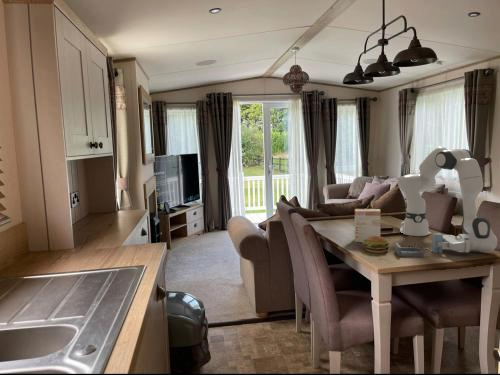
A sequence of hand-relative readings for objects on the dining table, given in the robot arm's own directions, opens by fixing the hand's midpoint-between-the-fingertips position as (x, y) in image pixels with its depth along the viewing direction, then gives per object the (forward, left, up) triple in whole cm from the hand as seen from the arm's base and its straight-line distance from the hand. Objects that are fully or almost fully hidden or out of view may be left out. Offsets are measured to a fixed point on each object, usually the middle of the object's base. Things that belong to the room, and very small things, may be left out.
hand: (435, 241), depth 211 cm
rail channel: (+6, -14, -6) cm, 16 cm away
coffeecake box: (-21, -33, -6) cm, 40 cm away
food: (0, -31, -6) cm, 32 cm away
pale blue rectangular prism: (0, +1, -6) cm, 6 cm away
